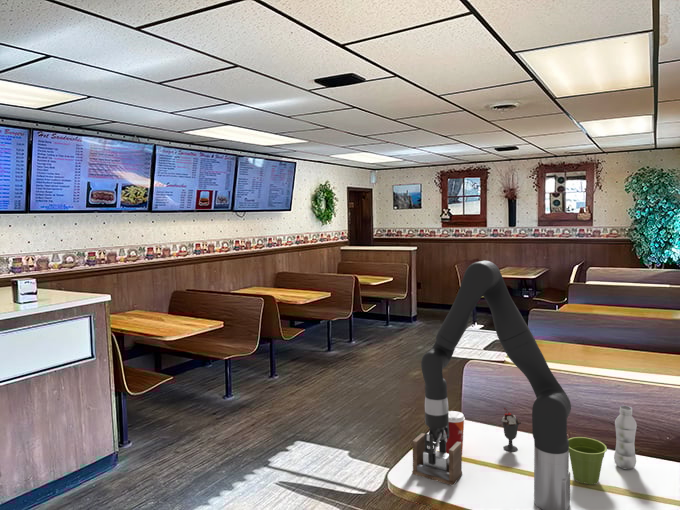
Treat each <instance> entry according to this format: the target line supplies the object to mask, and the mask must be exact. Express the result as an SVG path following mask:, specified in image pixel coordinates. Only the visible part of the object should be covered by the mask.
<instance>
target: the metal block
mask: <svg viewBox="0 0 680 510" xmlns="http://www.w3.org/2000/svg"><path fill="white" fill-rule="evenodd" d="M435 453H436V464H435V465H432V464H429V462H428V453H425V452H424V453H423V465H424V466H427V467H431V468H435V469H438V470H442V471H446V472H449V454H447V453H443V452H439V450H436V452H435Z"/></svg>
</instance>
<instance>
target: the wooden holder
mask: <svg viewBox="0 0 680 510" xmlns="http://www.w3.org/2000/svg"><path fill="white" fill-rule="evenodd" d="M425 434H426V433H423V432H421V433H420V434H419V435H418V436H416V437H415V438H414V439H413V440H412V470H411V473H412V475H416V476H418V477H422V478H425V479H429V480H433V481H436V482H439V483H442V484H447V485H449V486H454V485H455V484H456V483H457V482H458V480H459V479H460V478H461V477H462V476H463V470H462V468H463V467H462V466H463V465H462V464H463V462H462V459H463V458H462V455H463V449H462V446H461V442H458V441H457V442H456V443H455V444H454V445H453V446H452V447H451V448H450V449H449V472H446V471H442V470H438V469H435V468H431V467H427V466H424V465H423V453H424V452H425Z"/></svg>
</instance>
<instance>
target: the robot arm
mask: <svg viewBox="0 0 680 510" xmlns="http://www.w3.org/2000/svg"><path fill="white" fill-rule="evenodd" d="M482 297H483V298H484V300H485V301H486V304H487V305H488V307H489V310H490V313H491V316H492V321H493V325H494V326H493V327H494V331H495V333H496V336H497V339H498V341H499V342H500V344H501V347H502V348H503V350H504V352H505V354H506V355H507V357H508V358H509V359H510V361H511V362H512V363H513V365H515V367H516V368H517V369H519V370H520V372H522V374H523V375H524V376H525V377H526V379H527V381H528V382H529V383H530V386H531V388H532V390H533V392H534V395H535V397H536V399H535V400H534V401H533V404H532V408H531V411H532V412H531V418H532V419H531V423H532V424H531V428H532V437H533V440H534V445H533V446H534V447H533V448H534V450H533V451H534V452H533V453H534V454H533V455H534V458H533V462H534V463H533V466H534V467H533V471H534V472H533V473H534V474H533V501H534V504H535V505H536V507H538V508H539V509H541V510H568V509H569V507H570V504H571V472H570V471H569V468H570V467H569V465H570V464H569V461H570V455H569V440H568V439H569V438H568V417H569V416H570V413H571V411H572V403H571V401H570V398H569V396H568V395H567V393H566V391H565V389H563V387H562V385H561V384H560V383H559V381H558V380H557V378H556V376H555V375H554V374H553V372H552V370H551V369H550V367H549V365H548V363H547V361H546V357H544V354H543V353H542V351H541V349H540V347H539V344H538V343H537V341H536V338H535V337H534V335H533V333H532V331H531V329H530V327H529V326H528V325H527V322H526V320H525V319H524V317H523V316H522V313H521V312H520V310H519V308H518V307H517V306H516V305H517V304H515V302H514V300H513V299H512V296H511V294H510V292H509V290H508V286H507V285H506V283H505V280H504V278H503V275H502V273H501V271H500V269H499V266H498V265H496V264H495V263H494V262H492V261H490V260H480V261H475V262H473V263H471V264H470V265H469V266H468V267H467V268H466V270H465V272H464V274H463V278H462V279H461V284H460V286H459V289H458V292H457V295H456V296H455V299H454V301H453V303H452V305H451V308H450V309H449V312H448V313H447V315H446V317H445V319H444V320H443V322H442V324H441V326H440V328H439V330H438V331H437V333H436V337H435V342H434V344H433V346H432V348H431V349H430V350H428V351H426V352H425V353H424V354H423V355H422V358H421V363H420V368H421V373H422V377H423V378H422V379H423V380H424V381H423V382H424V393H425V394H424V395H425V396H424V424H425V425H426V426H427V427H428V430H429V432H428V433H424V434H425V453H428V462H429V464H432V465H435V464H436V453H435V452H436V451H437V449H438V451H439V452H443V453H446V442H447V438H448V439H449V416H448V411H449V400H448V383H447V380H446V379H445V378H444V376H443V369H446V367H447V366H448V365H449V363H450V361H451V359H452V358H453V354H454V352H455V349H456V347H457V346H458V345H459V343H460V341H461V339H462V337H463V336H464V333H465V331H466V330H467V327H468V324H469V321H470V318H471V316H472V313H473V311H474V309H475V307H476V306H477V304H478V302H480V300H481V298H482ZM445 432H446V433H445Z"/></svg>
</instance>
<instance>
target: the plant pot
mask: <svg viewBox="0 0 680 510" xmlns="http://www.w3.org/2000/svg"><path fill="white" fill-rule="evenodd" d="M568 440H569V461H570V465H571V471H572V476H573V479H574V480H575V481H576V482H578V483H581V484H587V485H590V486H591V485H596V484H598V483H599V480H600V476H601V471H602V464H603V461H604V457H605V453H606V452H607V451H608V448H607V447H608V446H607V445H606V444H605V443H603V442H602V441H600V440H598V439H595V438H589V437H584V436H576V437H570V438H568Z"/></svg>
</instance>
